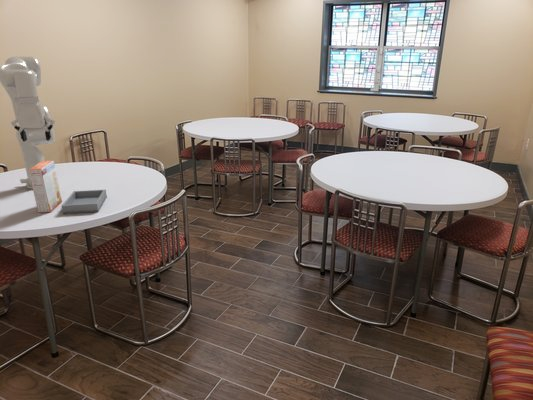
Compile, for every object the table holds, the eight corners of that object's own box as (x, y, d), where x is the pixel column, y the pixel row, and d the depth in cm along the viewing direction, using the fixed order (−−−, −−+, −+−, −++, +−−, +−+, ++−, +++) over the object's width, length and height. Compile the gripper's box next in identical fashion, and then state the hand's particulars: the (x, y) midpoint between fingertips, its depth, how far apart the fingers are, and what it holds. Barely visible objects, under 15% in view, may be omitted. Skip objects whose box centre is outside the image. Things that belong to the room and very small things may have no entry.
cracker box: (49, 202, 197) (41, 160, 190) (62, 201, 198) (54, 160, 190) (36, 213, 184) (27, 168, 177) (50, 212, 184) (41, 168, 177)
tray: (63, 214, 183) (61, 205, 181) (75, 198, 201) (73, 191, 200) (98, 211, 185) (97, 203, 184) (106, 197, 204) (105, 189, 202)
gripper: (3, 102, 169) (12, 143, 175) (47, 101, 171) (55, 141, 177) (10, 100, 176) (19, 139, 182) (53, 99, 178) (60, 138, 184)
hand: (36, 140), depth 180 cm, fingers open, 9 cm apart
